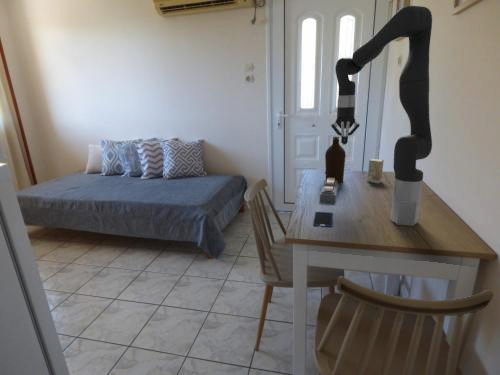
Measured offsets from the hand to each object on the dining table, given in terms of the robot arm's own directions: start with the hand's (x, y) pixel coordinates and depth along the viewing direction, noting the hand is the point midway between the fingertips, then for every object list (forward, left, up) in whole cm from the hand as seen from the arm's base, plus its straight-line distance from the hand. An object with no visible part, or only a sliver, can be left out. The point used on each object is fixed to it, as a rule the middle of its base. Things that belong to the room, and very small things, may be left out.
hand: (344, 144), depth 140 cm
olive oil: (+21, +5, -25) cm, 33 cm away
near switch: (-6, +6, -20) cm, 22 cm away
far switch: (+6, +6, -20) cm, 22 cm away
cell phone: (-31, +6, -26) cm, 41 cm away
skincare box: (+24, -16, -25) cm, 38 cm away
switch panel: (0, +6, -25) cm, 26 cm away
